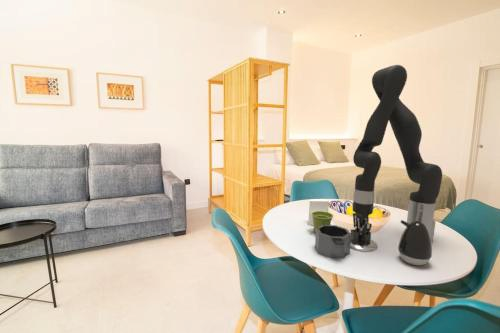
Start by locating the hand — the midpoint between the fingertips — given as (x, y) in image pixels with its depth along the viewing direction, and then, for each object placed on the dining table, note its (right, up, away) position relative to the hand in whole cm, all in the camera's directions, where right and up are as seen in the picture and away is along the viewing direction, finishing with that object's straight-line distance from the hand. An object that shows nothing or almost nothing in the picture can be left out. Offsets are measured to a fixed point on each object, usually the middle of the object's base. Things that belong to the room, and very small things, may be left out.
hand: (359, 241), depth 107 cm
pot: (-13, -2, -5) cm, 14 cm away
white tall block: (-11, +2, +22) cm, 25 cm away
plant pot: (-13, 0, +11) cm, 17 cm away
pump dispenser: (+14, -4, -13) cm, 19 cm away
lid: (0, -2, 0) cm, 2 cm away
